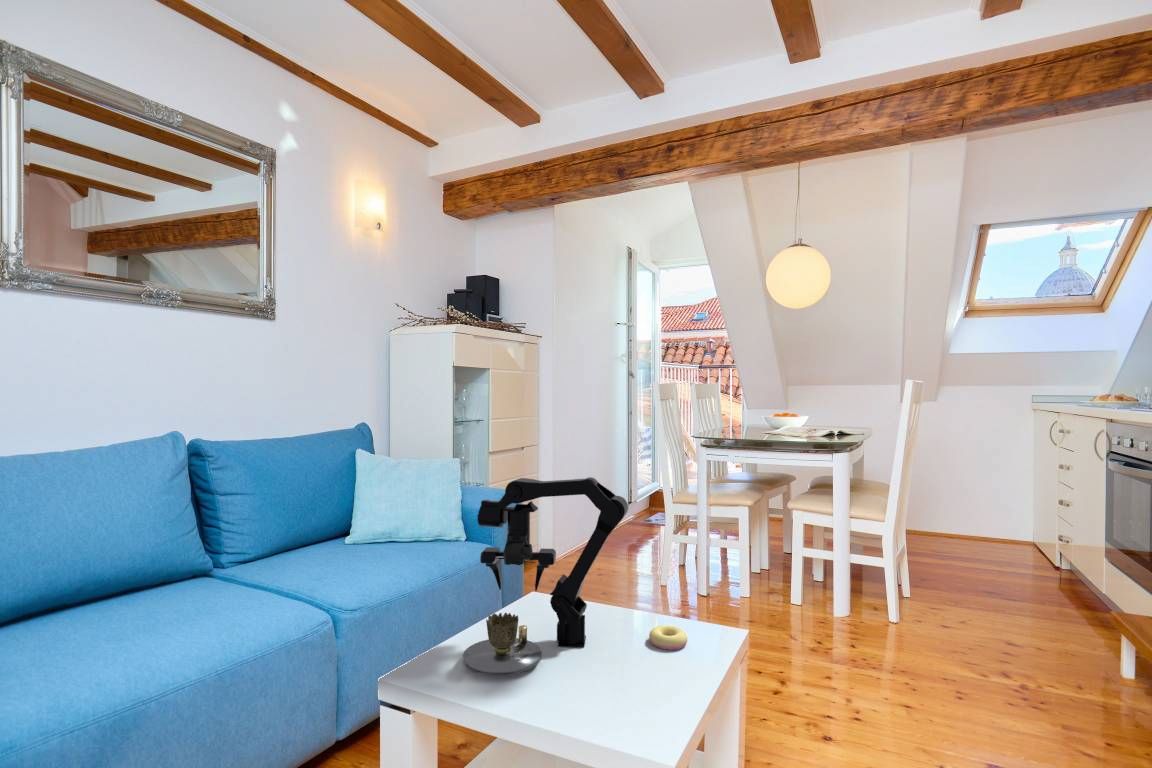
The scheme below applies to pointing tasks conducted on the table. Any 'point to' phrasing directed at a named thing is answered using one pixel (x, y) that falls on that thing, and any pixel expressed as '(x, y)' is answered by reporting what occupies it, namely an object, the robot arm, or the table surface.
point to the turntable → (503, 656)
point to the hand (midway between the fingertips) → (518, 589)
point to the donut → (668, 637)
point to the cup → (502, 632)
